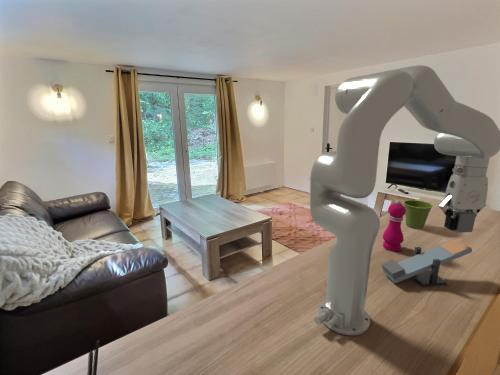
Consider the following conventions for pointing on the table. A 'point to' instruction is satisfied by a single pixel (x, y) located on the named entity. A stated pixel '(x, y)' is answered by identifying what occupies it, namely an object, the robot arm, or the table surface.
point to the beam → (424, 260)
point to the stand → (429, 274)
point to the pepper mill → (394, 227)
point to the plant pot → (416, 213)
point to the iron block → (464, 221)
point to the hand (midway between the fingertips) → (457, 227)
